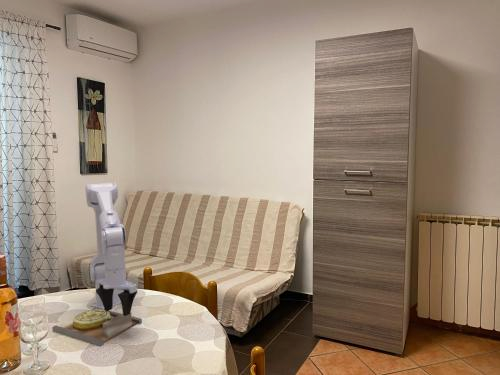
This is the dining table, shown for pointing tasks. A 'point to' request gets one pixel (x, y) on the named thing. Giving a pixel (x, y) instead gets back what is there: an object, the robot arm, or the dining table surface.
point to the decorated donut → (91, 319)
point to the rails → (86, 337)
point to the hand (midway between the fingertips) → (117, 312)
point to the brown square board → (108, 327)
